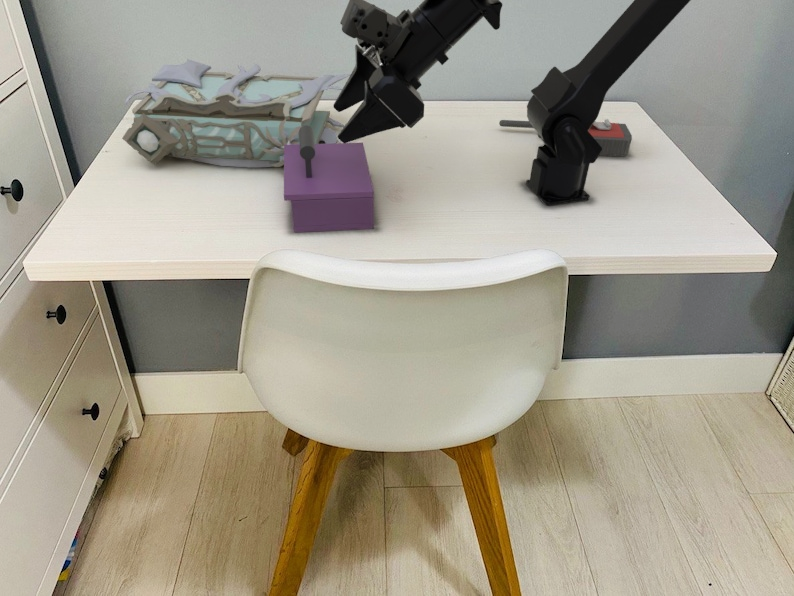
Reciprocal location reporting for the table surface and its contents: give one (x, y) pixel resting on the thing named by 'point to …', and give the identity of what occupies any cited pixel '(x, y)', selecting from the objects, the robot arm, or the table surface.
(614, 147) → the walkie-talkie
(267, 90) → the ornate book
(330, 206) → the box
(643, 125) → the table surface
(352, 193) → the lid
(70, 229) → the table surface
